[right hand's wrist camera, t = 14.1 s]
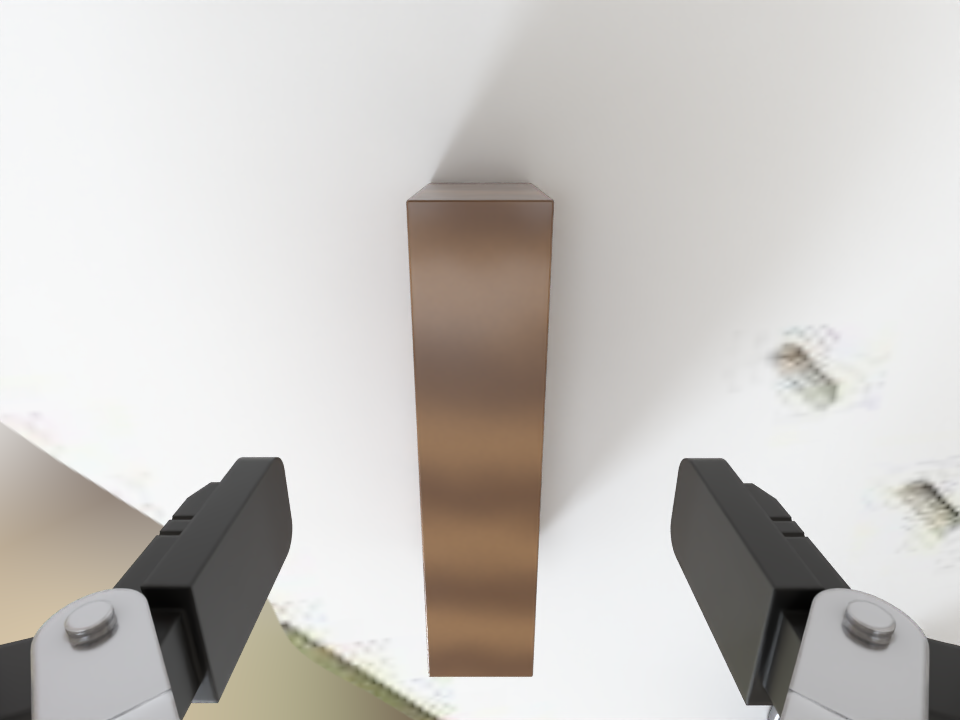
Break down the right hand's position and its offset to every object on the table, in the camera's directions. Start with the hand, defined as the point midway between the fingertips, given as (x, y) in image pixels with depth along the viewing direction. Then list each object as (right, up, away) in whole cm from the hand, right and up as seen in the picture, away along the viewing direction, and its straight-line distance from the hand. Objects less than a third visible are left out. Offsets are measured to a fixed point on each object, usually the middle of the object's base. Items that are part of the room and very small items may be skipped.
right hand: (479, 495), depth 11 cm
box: (0, +1, +27) cm, 27 cm away
